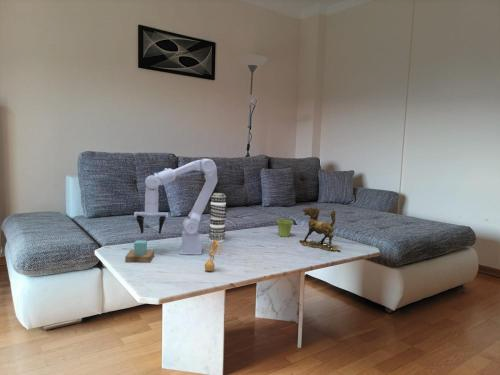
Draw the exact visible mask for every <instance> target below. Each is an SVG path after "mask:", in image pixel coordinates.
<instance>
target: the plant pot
mask: <svg viewBox="0 0 500 375" xmlns="http://www.w3.org/2000/svg"><path fill="white" fill-rule="evenodd" d="M276 222H277V228H278V230H277V231H278V237H282V238H288V237H290V235H291V229H292V226H293V224H294V221H292V220H291V219H290V220H288V219H277V220H276Z"/></svg>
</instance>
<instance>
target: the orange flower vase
mask: <svg viewBox="0 0 500 375" xmlns="http://www.w3.org/2000/svg"><path fill="white" fill-rule="evenodd" d="M211 246H212V248H211V250H210V251H209V253H208V256H209V257H210V258H209V259H208V260H207V261H206V262H205V263H204V269H205V270H206V271H208V272H212V271H213V270H214V269H215V268H216V267H215V266H216V265H215V263H214V259H215V255H216V253H218V255H219V256H220V255H221V249H222V247H221V245H220V242H217V241H213V242H212V243H210V244H209V245H208V246H207V248H206V249H205V251H207V250H208V249H209V248H210V247H211ZM218 248H219V252H217V249H218Z"/></svg>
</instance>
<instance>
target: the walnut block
mask: <svg viewBox="0 0 500 375" xmlns="http://www.w3.org/2000/svg"><path fill="white" fill-rule="evenodd" d="M154 257H155V250H154V249H149V250H148V249H147V252H146V254H145V255H134V249H130V250H129V252H128V253H127V254H126V255H125V260H124V261H125V263H129V264H130V263H131V264H132V263H135V264H136V263H139V264H140V263H142V264H143V263H145V264H146V263H148V264H150V263H151V262H152V260H153V259H154Z"/></svg>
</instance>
